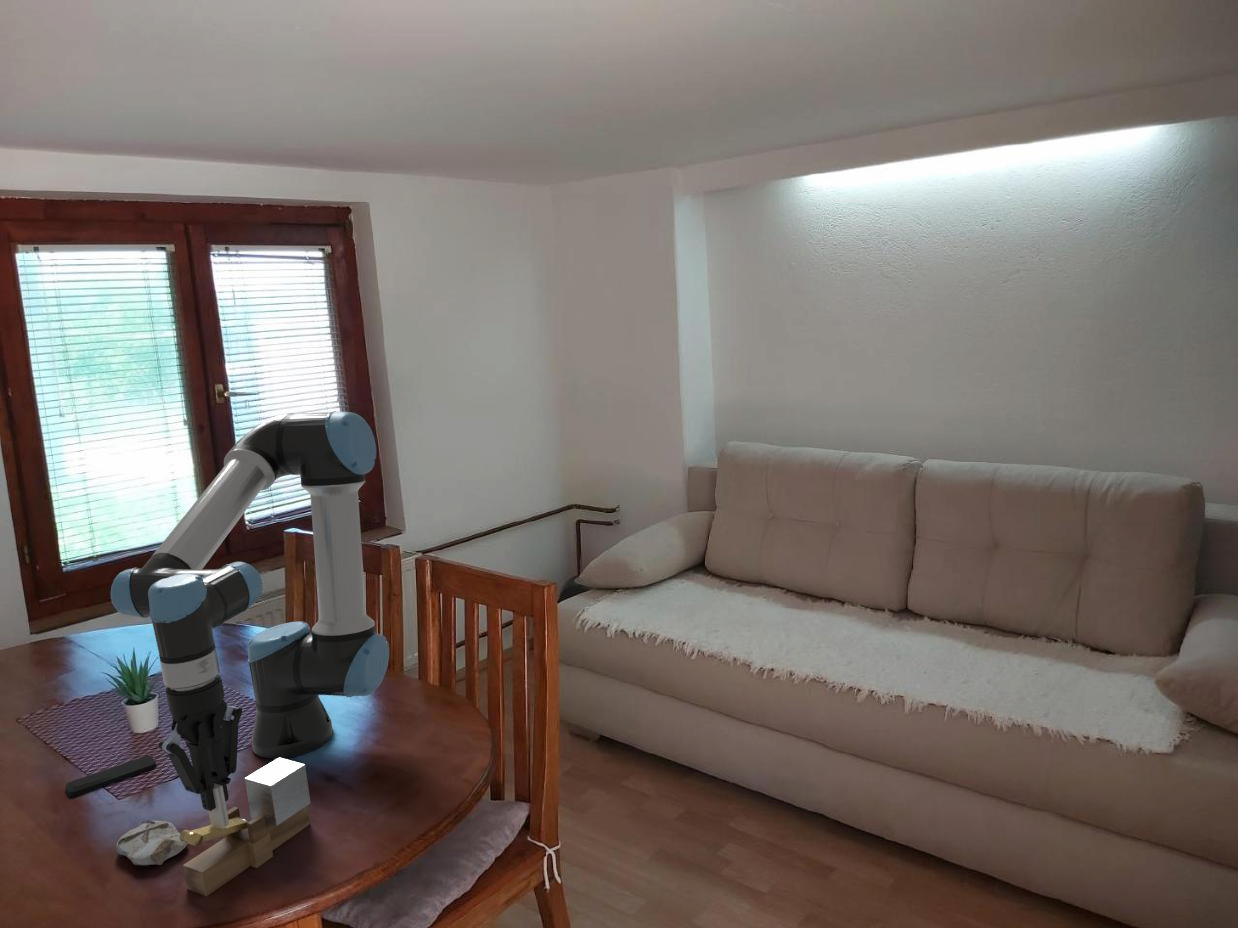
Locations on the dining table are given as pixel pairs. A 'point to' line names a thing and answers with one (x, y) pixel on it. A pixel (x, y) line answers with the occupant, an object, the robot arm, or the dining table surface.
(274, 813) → the brushed steel cube
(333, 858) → the dining table surface
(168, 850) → the stone
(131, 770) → the remote control
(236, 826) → the lever
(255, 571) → the robot arm
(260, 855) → the tan wooden beam joint
